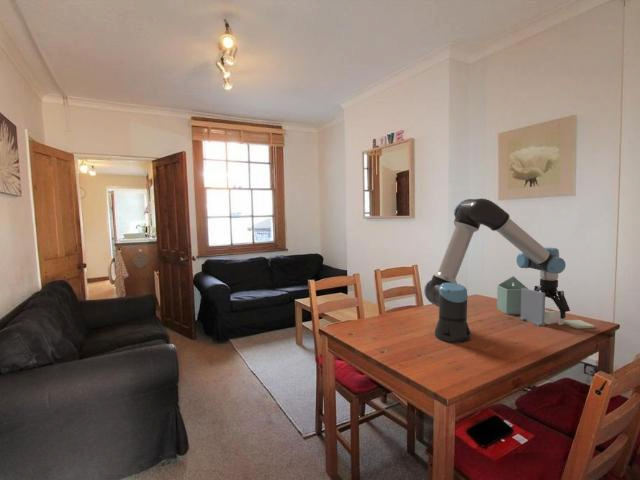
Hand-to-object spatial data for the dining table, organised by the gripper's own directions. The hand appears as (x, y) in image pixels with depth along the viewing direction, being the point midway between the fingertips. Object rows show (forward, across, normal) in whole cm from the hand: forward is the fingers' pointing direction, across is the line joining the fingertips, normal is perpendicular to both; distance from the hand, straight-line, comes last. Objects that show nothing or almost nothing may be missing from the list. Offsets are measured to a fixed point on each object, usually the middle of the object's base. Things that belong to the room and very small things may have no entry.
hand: (547, 320), depth 173 cm
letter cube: (+1, 0, 0) cm, 1 cm away
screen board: (0, +2, +8) cm, 8 cm away
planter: (+1, +18, +5) cm, 19 cm away
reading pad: (0, -9, -8) cm, 12 cm away
